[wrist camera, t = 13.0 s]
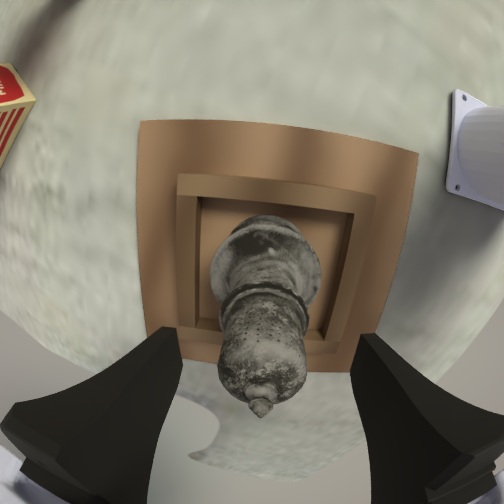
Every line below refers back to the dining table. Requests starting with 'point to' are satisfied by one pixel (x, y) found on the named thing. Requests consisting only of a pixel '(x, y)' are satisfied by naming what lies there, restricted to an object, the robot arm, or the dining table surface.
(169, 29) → the dining table surface
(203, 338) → the walnut holder
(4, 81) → the milk carton
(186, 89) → the dining table surface
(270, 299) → the salt shaker
